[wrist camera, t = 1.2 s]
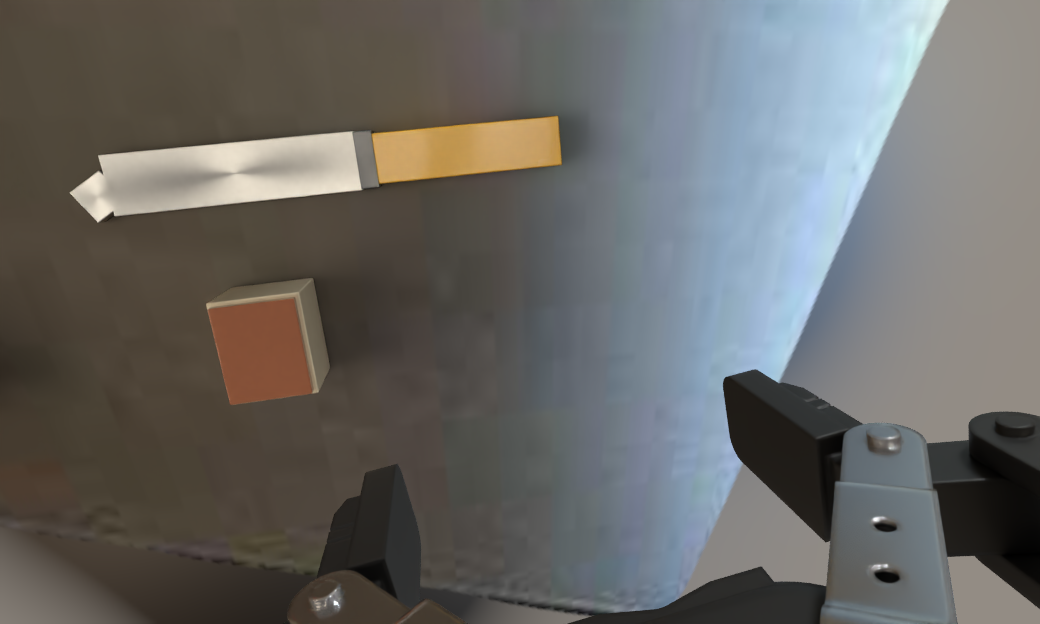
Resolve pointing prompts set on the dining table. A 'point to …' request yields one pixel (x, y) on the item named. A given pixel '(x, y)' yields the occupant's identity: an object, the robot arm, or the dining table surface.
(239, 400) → the salt cellar
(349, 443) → the dining table surface
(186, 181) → the knife
